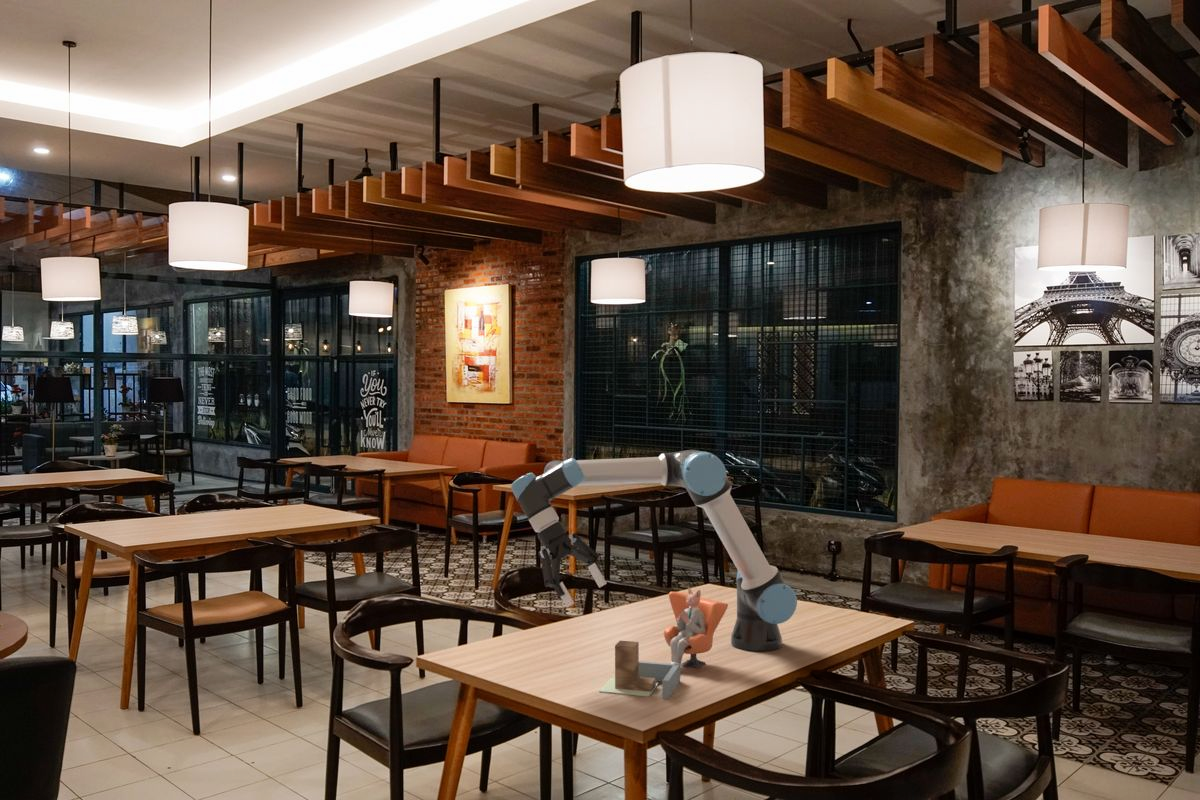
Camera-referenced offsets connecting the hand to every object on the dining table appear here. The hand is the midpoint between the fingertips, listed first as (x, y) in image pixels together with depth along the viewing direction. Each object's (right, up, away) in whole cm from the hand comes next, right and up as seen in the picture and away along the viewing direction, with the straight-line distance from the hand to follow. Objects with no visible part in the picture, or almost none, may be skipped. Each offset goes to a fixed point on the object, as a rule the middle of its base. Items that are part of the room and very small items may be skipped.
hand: (587, 595), depth 249 cm
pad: (+11, -21, -12) cm, 27 cm away
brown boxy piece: (+13, -21, -12) cm, 27 cm away
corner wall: (+16, -21, -11) cm, 29 cm away
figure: (+27, -21, +7) cm, 35 cm away
